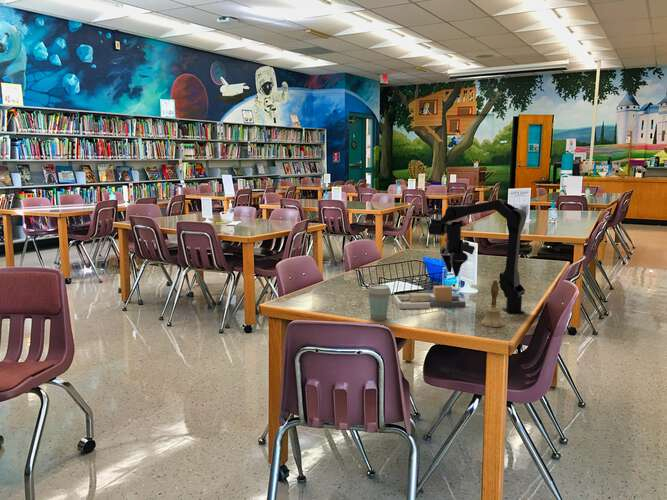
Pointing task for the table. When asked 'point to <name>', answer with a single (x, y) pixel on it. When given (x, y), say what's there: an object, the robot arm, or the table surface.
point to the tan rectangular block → (441, 294)
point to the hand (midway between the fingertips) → (452, 274)
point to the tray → (408, 305)
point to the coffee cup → (378, 301)
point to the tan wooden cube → (414, 298)
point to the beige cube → (425, 297)
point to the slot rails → (449, 303)
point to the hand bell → (493, 310)
